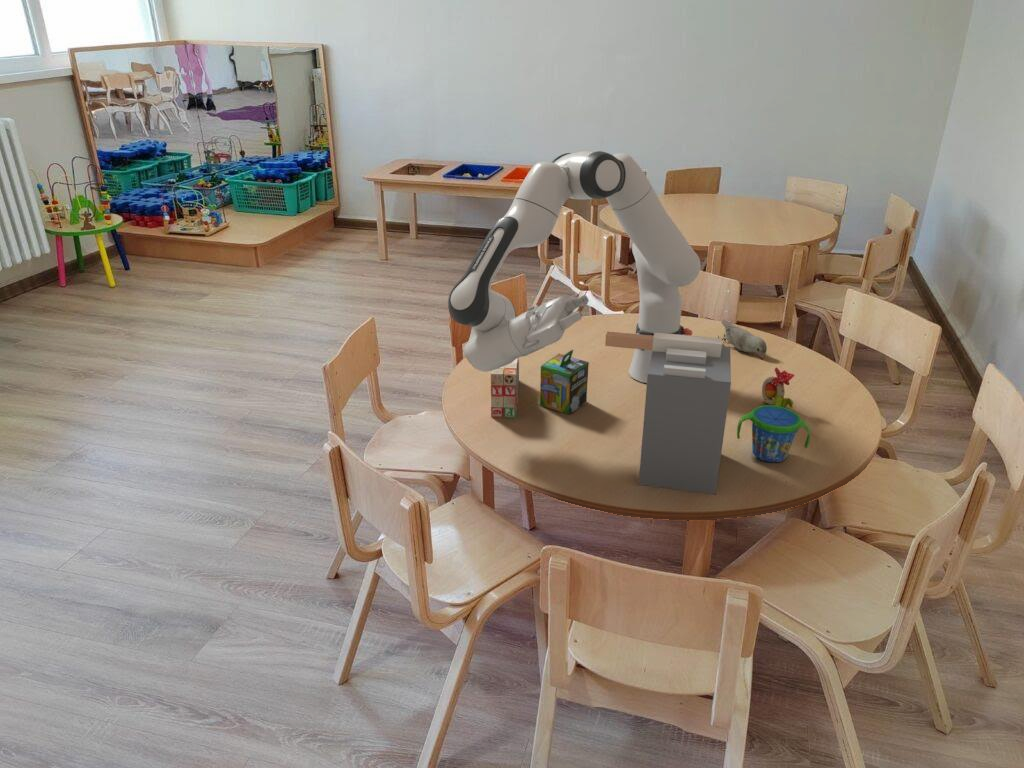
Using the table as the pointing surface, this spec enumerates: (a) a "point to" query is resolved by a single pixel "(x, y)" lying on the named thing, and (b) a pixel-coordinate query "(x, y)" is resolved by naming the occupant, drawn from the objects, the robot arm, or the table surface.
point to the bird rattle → (777, 389)
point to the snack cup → (773, 431)
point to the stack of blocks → (505, 390)
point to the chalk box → (564, 383)
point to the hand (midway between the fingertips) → (584, 306)
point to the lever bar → (665, 342)
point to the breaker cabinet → (685, 419)
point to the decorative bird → (744, 339)
